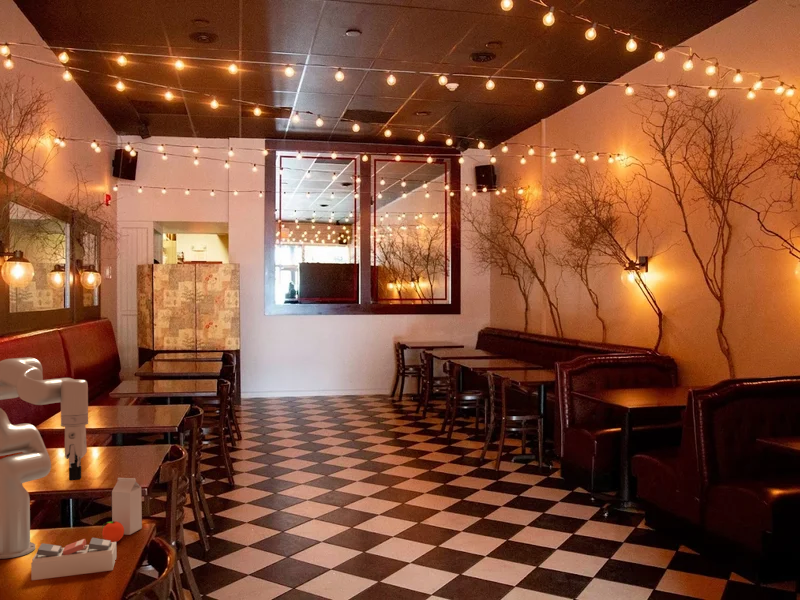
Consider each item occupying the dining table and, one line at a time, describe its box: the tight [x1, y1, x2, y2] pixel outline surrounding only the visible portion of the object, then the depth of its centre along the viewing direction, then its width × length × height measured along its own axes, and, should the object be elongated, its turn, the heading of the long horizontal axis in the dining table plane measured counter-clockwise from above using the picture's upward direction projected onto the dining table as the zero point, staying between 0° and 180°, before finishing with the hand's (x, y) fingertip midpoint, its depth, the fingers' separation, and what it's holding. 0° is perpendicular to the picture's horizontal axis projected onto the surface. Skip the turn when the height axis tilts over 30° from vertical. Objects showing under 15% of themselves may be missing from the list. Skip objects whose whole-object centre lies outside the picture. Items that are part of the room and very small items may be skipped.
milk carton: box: [111, 477, 143, 536], centre depth 236 cm, size 7×7×19 cm
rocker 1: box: [36, 542, 62, 556], centre depth 199 cm, size 6×6×2 cm
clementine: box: [101, 520, 125, 543], centre depth 225 cm, size 8×7×7 cm
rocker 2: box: [88, 537, 111, 550], centre depth 203 cm, size 6×6×2 cm
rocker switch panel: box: [30, 542, 117, 581], centre depth 202 cm, size 22×11×6 cm, turn 108°
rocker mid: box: [63, 538, 87, 555], centre depth 201 cm, size 6×6×2 cm
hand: (75, 479), depth 203 cm, fingers closed
